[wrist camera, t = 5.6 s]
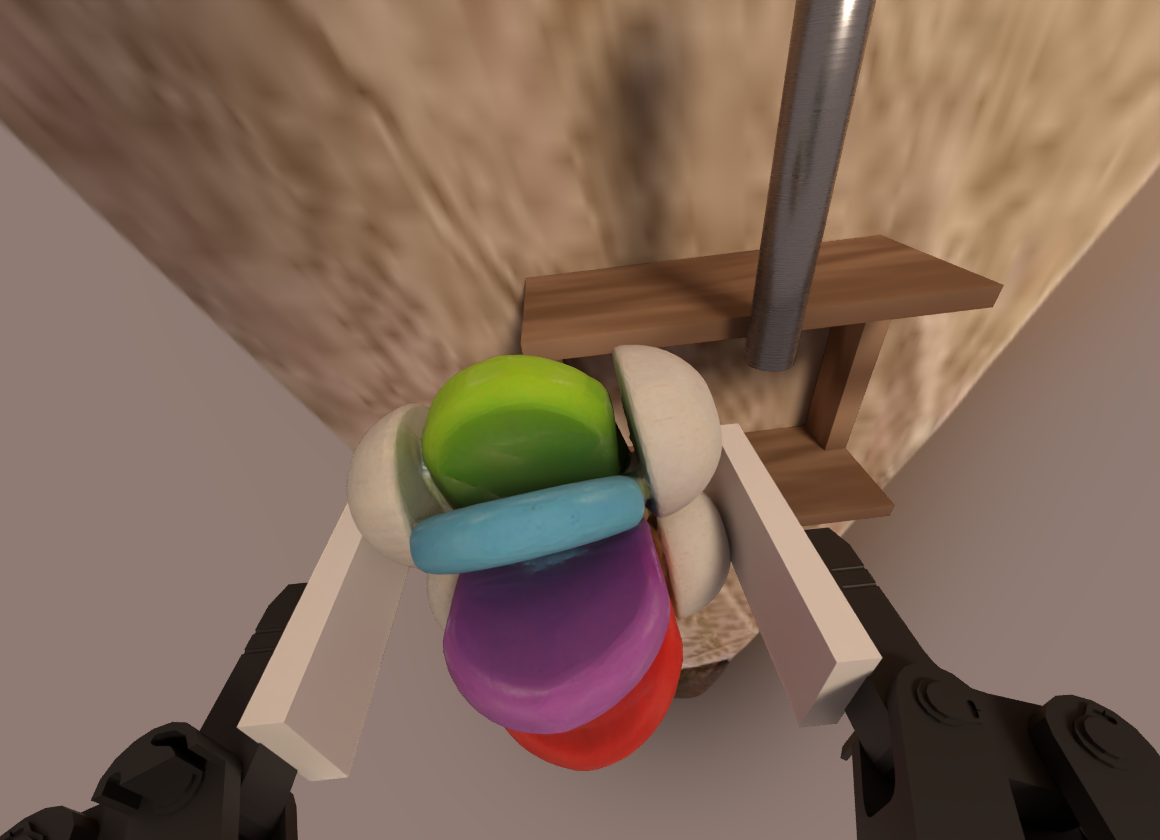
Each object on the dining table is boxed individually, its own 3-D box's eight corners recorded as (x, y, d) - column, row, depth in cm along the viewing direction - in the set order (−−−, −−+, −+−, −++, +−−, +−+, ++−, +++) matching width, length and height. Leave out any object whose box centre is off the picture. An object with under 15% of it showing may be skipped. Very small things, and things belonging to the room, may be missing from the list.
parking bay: (526, 278, 26) (520, 343, 19) (880, 235, 26) (1003, 285, 19) (558, 464, 35) (562, 554, 28) (820, 433, 35) (889, 515, 28)
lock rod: (810, -519, 9) (925, -781, 6) (972, -539, 9) (1156, -811, 6) (719, 346, 20) (745, 383, 17) (788, 338, 20) (825, 373, 17)
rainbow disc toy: (482, 580, 16) (446, 844, 11) (338, 359, 11) (89, 665, 5) (706, 534, 16) (801, 792, 10) (677, 271, 10) (864, 508, 4)
